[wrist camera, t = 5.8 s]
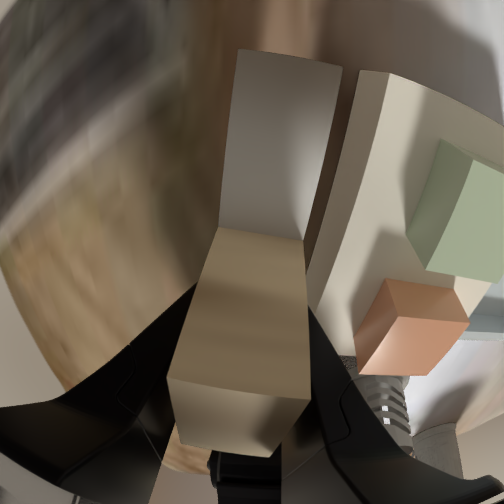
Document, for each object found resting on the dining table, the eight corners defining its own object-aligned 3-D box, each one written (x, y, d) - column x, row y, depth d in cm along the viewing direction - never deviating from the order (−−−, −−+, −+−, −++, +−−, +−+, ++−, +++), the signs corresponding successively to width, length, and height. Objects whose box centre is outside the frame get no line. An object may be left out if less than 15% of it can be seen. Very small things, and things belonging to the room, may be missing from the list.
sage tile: (475, 251, 12) (497, 284, 10) (405, 234, 12) (425, 270, 10) (511, 171, 9) (542, 196, 7) (440, 138, 9) (473, 159, 7)
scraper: (262, 345, 16) (247, 483, 10) (218, 337, 16) (189, 474, 10) (325, 67, 8) (449, 78, 2) (250, 53, 8) (154, 20, 2)
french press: (380, 349, 24) (395, 628, 3) (430, 385, 27) (451, 584, 7) (299, 392, 28) (284, 619, 8) (361, 417, 32) (363, 595, 12)
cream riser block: (419, 314, 21) (435, 359, 17) (298, 298, 21) (299, 350, 17) (504, 132, 12) (550, 158, 8) (360, 69, 12) (389, 73, 8)
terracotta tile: (416, 342, 16) (426, 375, 14) (353, 337, 16) (358, 374, 14) (453, 289, 13) (470, 323, 11) (385, 278, 13) (398, 316, 11)
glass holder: (455, 431, 38) (466, 500, 25) (385, 454, 43) (389, 523, 31) (456, 418, 34) (471, 498, 21) (376, 445, 39) (380, 524, 27)
